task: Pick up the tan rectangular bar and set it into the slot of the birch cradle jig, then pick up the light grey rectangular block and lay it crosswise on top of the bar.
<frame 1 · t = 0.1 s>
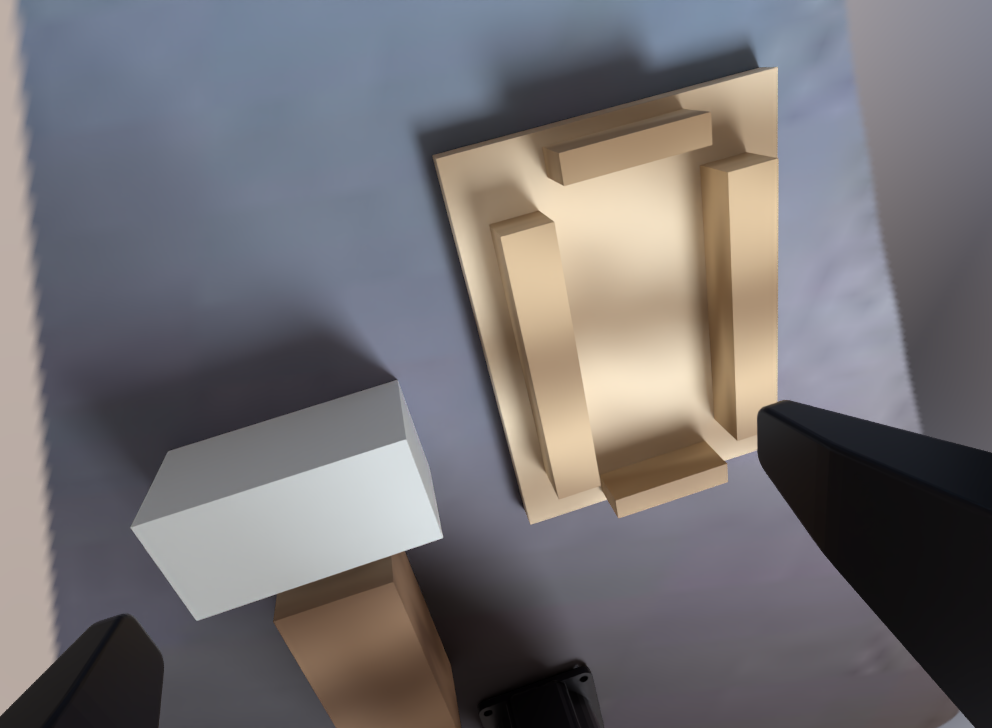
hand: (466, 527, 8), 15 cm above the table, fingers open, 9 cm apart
jig: (626, 318, 24), on the table
light grey rectangular block: (306, 457, 24), on the table
tan rectangular bar: (375, 605, 28), on the table
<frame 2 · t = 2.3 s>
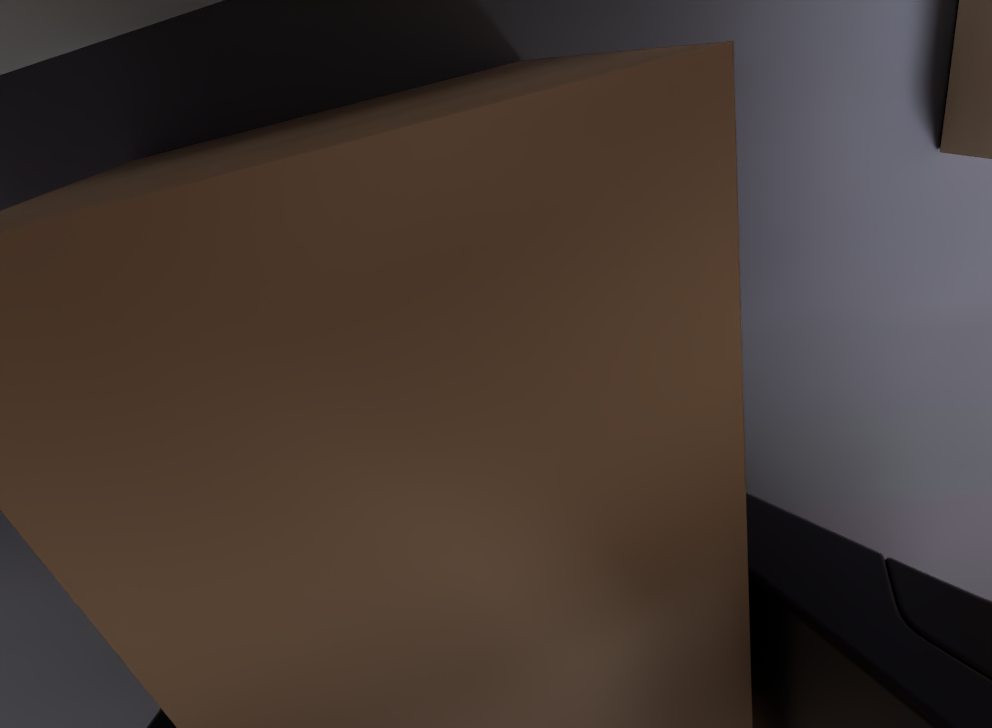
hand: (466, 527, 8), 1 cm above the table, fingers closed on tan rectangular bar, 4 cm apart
tan rectangular bar: (453, 477, 9), on the table, touching gripper
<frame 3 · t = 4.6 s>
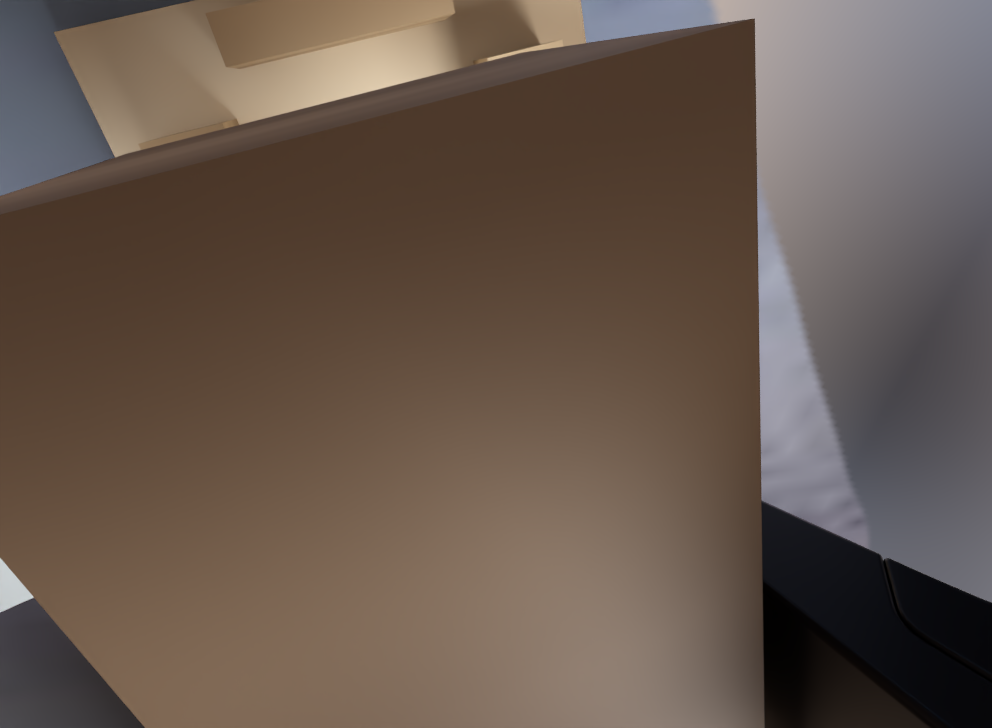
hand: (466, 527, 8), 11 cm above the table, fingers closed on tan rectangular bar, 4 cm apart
jig: (414, 282, 18), on the table
tan rectangular bar: (453, 481, 9), point 10 cm above the table, touching gripper
when the fingers open (3 cm above the table, at t = 6.4 s): tan rectangular bar drops 1 cm, resting on jig.
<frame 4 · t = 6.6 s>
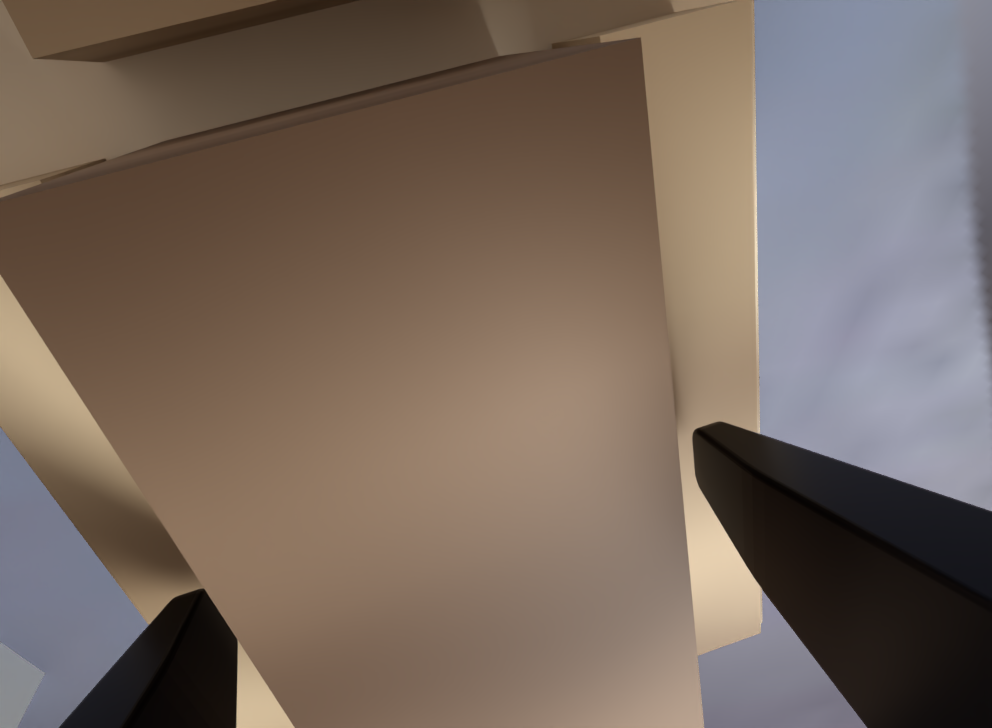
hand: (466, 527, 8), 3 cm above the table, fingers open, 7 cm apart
jig: (436, 406, 11), on the table
tan rectangular bar: (443, 433, 10), point 1 cm above the table, touching jig
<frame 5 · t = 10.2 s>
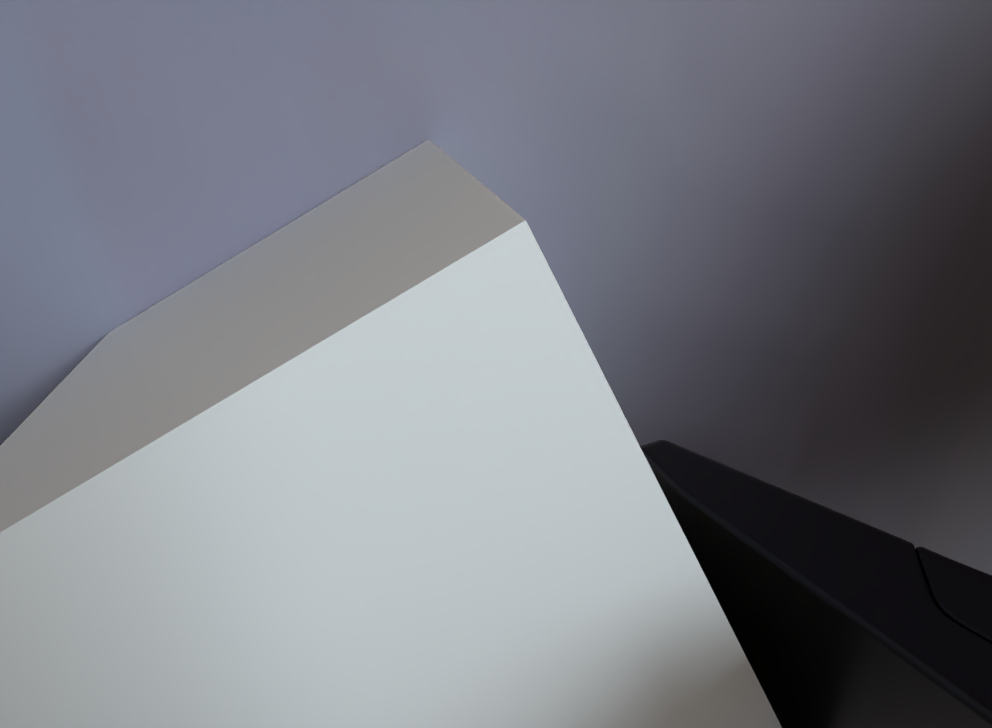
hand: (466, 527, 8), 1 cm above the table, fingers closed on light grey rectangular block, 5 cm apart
light grey rectangular block: (453, 484, 9), on the table, touching gripper
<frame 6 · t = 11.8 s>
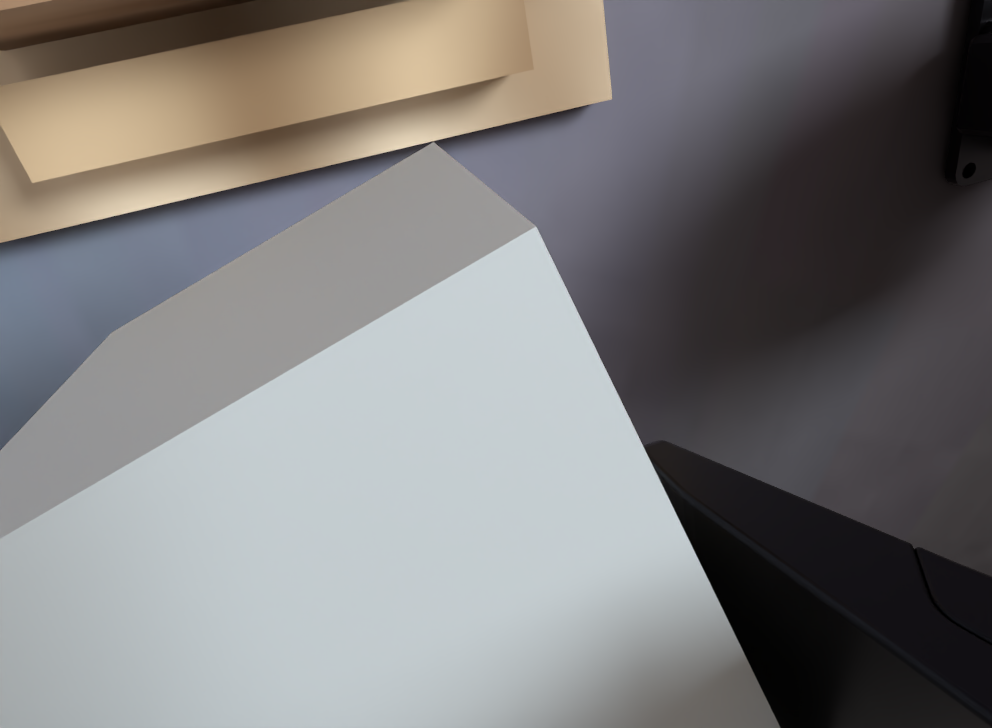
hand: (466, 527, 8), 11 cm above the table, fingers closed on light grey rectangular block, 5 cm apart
light grey rectangular block: (454, 486, 9), point 10 cm above the table, touching gripper
when the fingers open (7 cm above the table, at t = 13.4 s): light grey rectangular block stays where it is, resting on tan rectangular bar.
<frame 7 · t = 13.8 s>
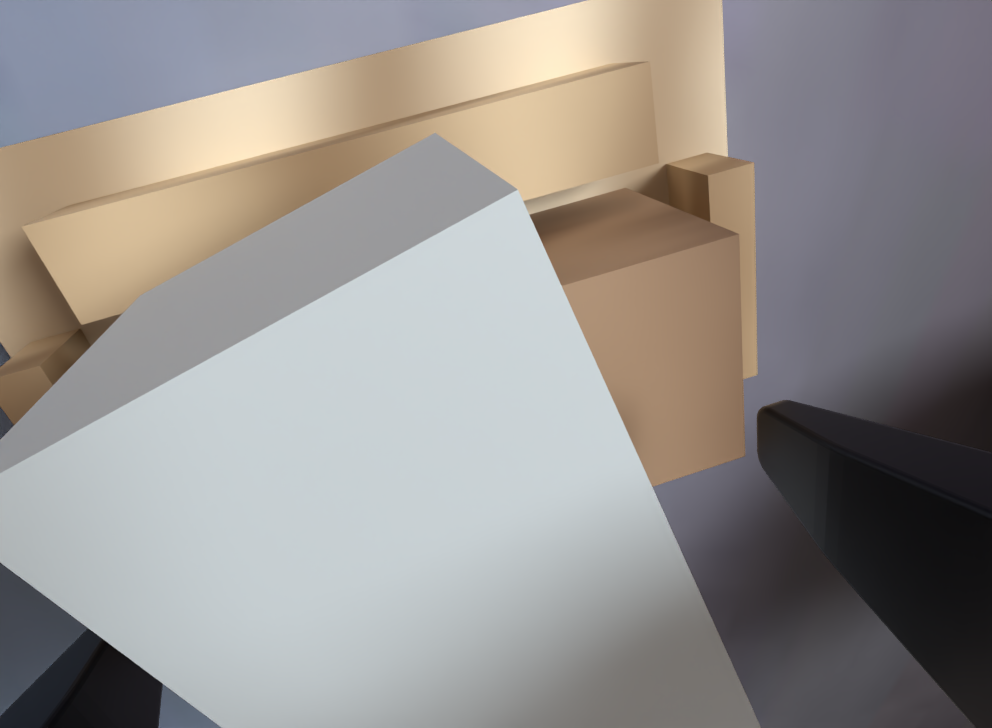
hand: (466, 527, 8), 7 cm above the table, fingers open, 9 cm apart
jig: (414, 327, 15), on the table
light grey rectangular block: (445, 451, 10), point 5 cm above the table, touching tan rectangular bar
tan rectangular bar: (417, 344, 14), point 1 cm above the table, touching jig, light grey rectangular block
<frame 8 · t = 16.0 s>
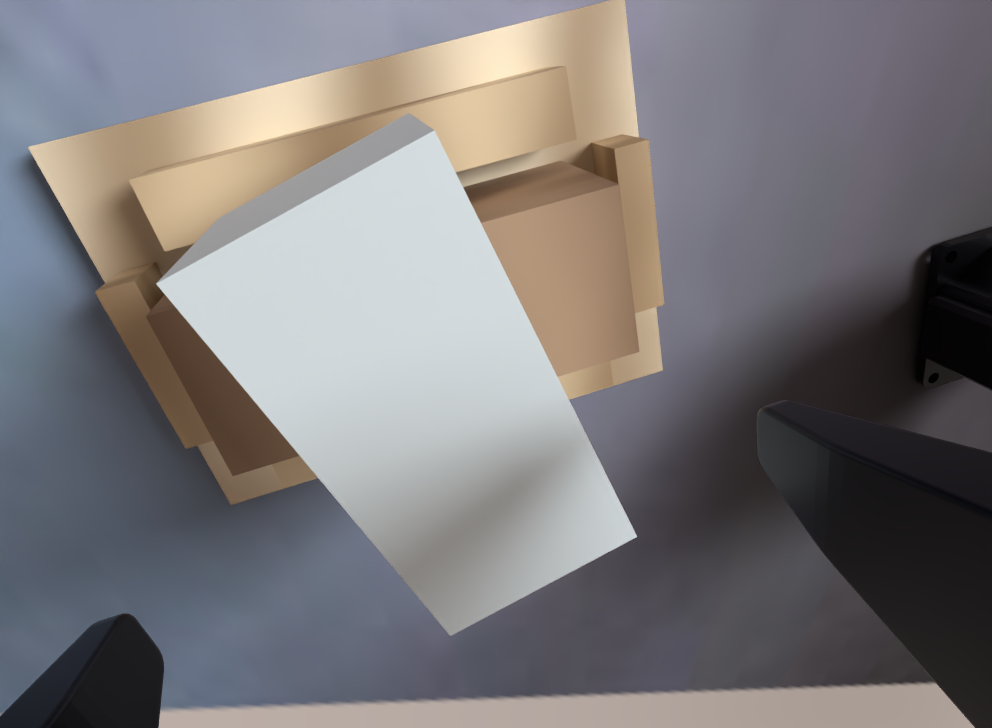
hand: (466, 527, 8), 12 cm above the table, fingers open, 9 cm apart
jig: (403, 270, 19), on the table
light grey rectangular block: (419, 337, 15), point 5 cm above the table, touching tan rectangular bar
tan rectangular bar: (404, 280, 18), point 1 cm above the table, touching jig, light grey rectangular block
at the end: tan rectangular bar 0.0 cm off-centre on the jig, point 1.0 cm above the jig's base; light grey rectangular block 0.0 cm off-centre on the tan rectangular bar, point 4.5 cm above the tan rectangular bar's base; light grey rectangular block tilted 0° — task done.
